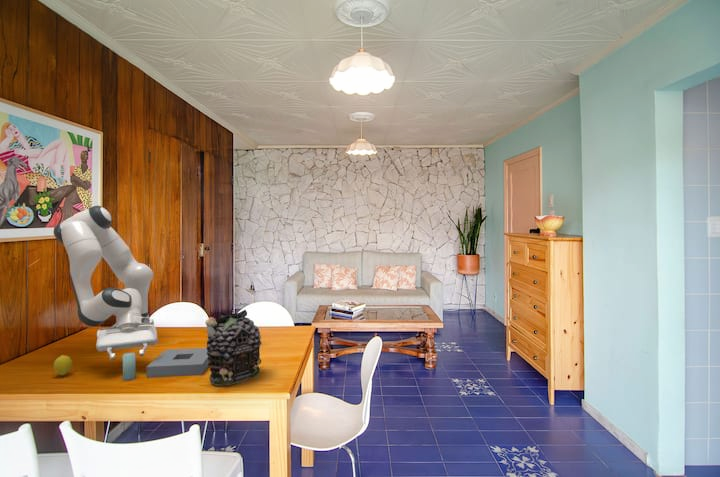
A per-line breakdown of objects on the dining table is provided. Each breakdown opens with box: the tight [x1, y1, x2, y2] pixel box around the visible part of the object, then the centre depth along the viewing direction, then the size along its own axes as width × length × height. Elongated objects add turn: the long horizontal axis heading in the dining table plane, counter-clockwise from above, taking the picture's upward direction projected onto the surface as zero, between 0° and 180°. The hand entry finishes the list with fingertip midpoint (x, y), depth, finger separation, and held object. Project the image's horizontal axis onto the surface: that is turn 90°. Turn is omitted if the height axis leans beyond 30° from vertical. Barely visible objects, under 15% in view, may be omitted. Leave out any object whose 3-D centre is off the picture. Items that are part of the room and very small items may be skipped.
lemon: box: [53, 354, 73, 377], centre depth 144 cm, size 6×6×8 cm
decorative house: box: [205, 309, 263, 386], centre depth 142 cm, size 21×15×25 cm
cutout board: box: [146, 347, 210, 378], centre depth 154 cm, size 20×20×4 cm
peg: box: [122, 352, 137, 381], centre depth 142 cm, size 4×4×9 cm
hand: (127, 357), depth 143 cm, fingers open, 8 cm apart
